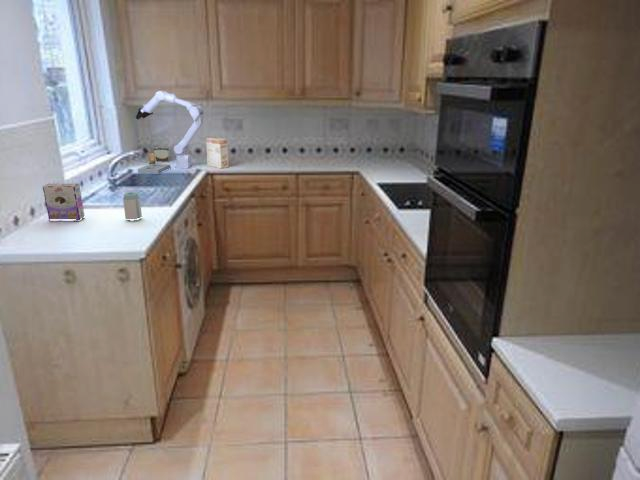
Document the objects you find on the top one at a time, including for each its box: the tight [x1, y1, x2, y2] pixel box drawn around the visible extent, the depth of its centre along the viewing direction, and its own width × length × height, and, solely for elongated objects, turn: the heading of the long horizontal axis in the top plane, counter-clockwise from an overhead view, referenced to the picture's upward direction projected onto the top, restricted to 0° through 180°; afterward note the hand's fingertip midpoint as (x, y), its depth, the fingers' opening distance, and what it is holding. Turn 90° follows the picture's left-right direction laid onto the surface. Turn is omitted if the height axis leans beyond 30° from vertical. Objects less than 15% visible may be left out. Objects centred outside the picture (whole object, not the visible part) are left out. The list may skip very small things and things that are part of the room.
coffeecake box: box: [205, 136, 229, 169], centre depth 335 cm, size 15×7×20 cm, turn 51°
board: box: [137, 163, 171, 175], centre depth 322 cm, size 14×18×2 cm
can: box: [122, 192, 143, 220], centre depth 219 cm, size 7×7×12 cm
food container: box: [152, 146, 171, 163], centre depth 353 cm, size 12×6×10 cm, turn 84°
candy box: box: [42, 182, 85, 220], centre depth 217 cm, size 14×6×16 cm, turn 92°
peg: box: [147, 152, 156, 165], centre depth 335 cm, size 4×4×9 cm
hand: (139, 117), depth 328 cm, fingers open, 7 cm apart
